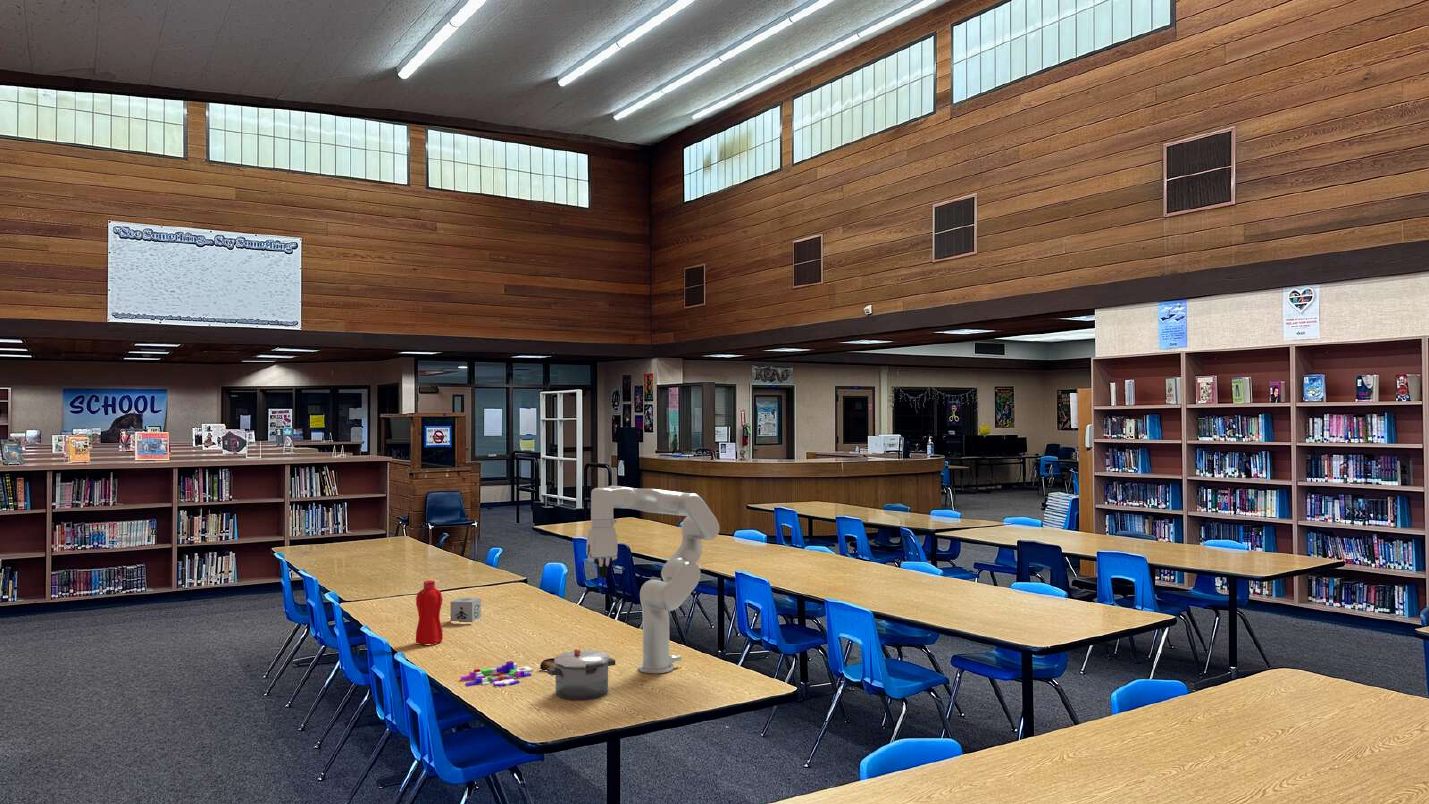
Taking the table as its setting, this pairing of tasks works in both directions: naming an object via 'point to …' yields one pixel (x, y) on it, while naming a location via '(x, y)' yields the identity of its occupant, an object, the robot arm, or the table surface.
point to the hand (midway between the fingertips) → (602, 577)
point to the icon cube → (465, 609)
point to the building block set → (487, 674)
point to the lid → (582, 659)
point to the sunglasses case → (547, 664)
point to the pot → (581, 682)
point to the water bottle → (429, 614)
